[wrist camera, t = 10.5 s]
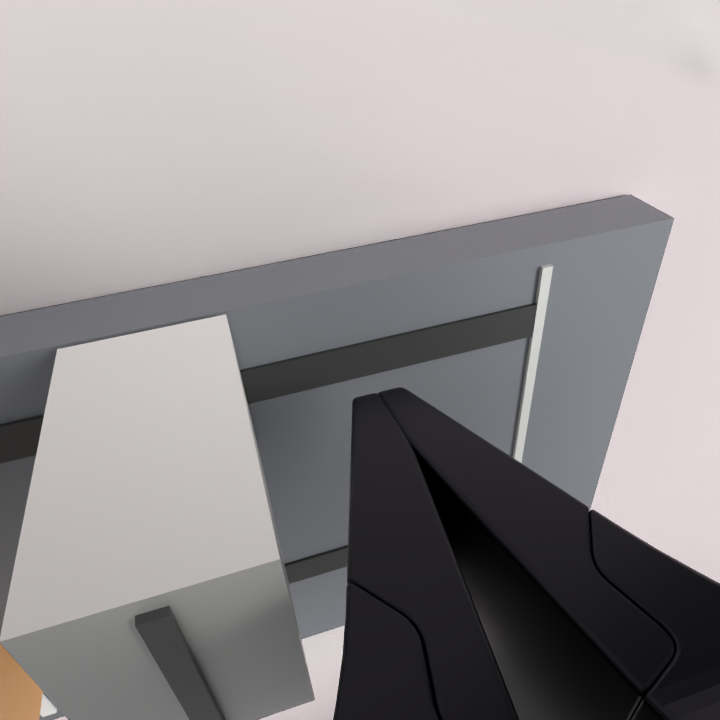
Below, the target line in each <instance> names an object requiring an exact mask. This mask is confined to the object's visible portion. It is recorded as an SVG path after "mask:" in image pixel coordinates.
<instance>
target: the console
mask: <svg viewBox="0 0 720 720" xmlns="http://www.w3.org/2000/svg"><path fill="white" fill-rule="evenodd" d="M673 220H674V218H673V217H671V216H669V215H667V214H665V213H663V212H662V211H660V210H658V209H656V208H654V207H652V206H651V205H649V204H647V203H645V202H643V201H642V200H640V199H638V198H636V197H634V196H632V195H625V196H620V197H615V198H610V199H605V200H599V201H594V202H589V203H584V204H579V205H574V206H568V207H563V208H558V209H553V210H548V211H543V212H537V213H532V214H527V215H522V216H517V217H512V218H506V219H501V220H496V221H491V222H486V223H481V224H475V225H470V226H465V227H460V228H455V229H450V230H444V231H439V232H434V233H429V234H424V235H419V236H413V237H408V238H403V239H398V240H393V241H388V242H382V243H377V244H372V245H367V246H362V247H357V248H351V249H346V250H341V251H336V252H331V253H326V254H320V255H315V256H310V257H305V258H300V259H295V260H289V261H284V262H279V263H274V264H269V265H264V266H258V267H253V268H248V269H243V270H238V271H233V272H227V273H222V274H217V275H212V276H207V277H202V278H196V279H191V280H186V281H181V282H176V283H171V284H165V285H160V286H155V287H150V288H145V289H140V290H134V291H129V292H124V293H119V294H114V295H109V296H103V297H98V298H93V299H88V300H83V301H78V302H72V303H67V304H62V305H57V306H52V307H47V308H41V309H36V310H31V311H26V312H21V313H16V314H10V315H5V316H0V635H1V630H2V624H3V619H4V614H5V609H6V604H7V599H8V594H9V589H10V584H11V579H12V574H13V569H14V564H15V559H16V554H17V549H18V544H19V539H20V534H21V529H22V524H23V519H24V514H25V509H26V504H27V499H28V494H29V489H30V484H31V479H32V474H33V469H34V463H35V458H36V453H37V448H38V443H39V438H40V433H41V428H42V423H43V418H44V413H45V408H46V403H47V398H48V393H49V388H50V383H51V378H52V373H53V368H54V363H55V358H56V353H57V349H61V348H66V347H70V346H75V345H80V344H85V343H90V342H95V341H99V340H104V339H109V338H114V337H119V336H123V335H128V334H133V333H138V332H143V331H148V330H152V329H157V328H162V327H167V326H172V325H177V324H181V323H186V322H191V321H196V320H201V319H205V318H210V317H215V316H220V315H225V314H226V316H227V320H228V324H229V328H230V332H231V337H232V341H233V345H234V349H235V353H236V357H237V362H238V366H239V370H240V374H241V378H242V382H243V387H244V391H245V395H246V399H247V403H248V408H249V412H250V416H251V420H252V424H253V428H254V433H255V437H256V441H257V445H258V449H259V453H260V458H261V462H262V467H263V471H264V476H265V480H266V485H267V489H268V493H269V498H270V502H271V507H272V511H273V516H274V520H275V525H276V529H277V534H278V538H279V542H280V547H281V551H282V556H283V560H284V565H285V569H286V574H287V578H288V582H289V587H290V591H291V596H292V600H293V605H294V609H295V614H296V618H297V623H298V627H299V631H300V636H301V639H303V638H307V637H310V636H313V635H316V634H319V633H322V632H325V631H328V630H331V629H334V628H337V627H340V626H344V625H345V616H346V587H347V561H348V528H349V494H350V461H351V427H352V401H353V399H354V398H356V397H360V396H364V395H368V394H372V393H377V394H378V393H379V392H381V391H385V390H389V389H393V388H397V387H402V388H405V389H407V390H408V391H410V392H411V393H413V394H415V395H416V396H418V397H419V398H421V399H422V400H424V401H425V402H427V403H429V404H430V405H432V406H433V407H435V408H436V409H438V410H439V411H441V412H443V413H444V414H446V415H447V416H449V417H450V418H452V419H453V420H455V421H457V422H458V423H460V424H461V425H463V426H464V427H466V428H467V429H469V430H470V431H472V432H474V433H475V434H477V435H478V436H480V437H481V438H483V439H484V440H486V441H488V442H489V443H491V444H492V445H494V446H495V447H497V448H498V449H500V450H502V451H503V452H505V453H506V454H508V455H509V456H511V457H512V458H514V459H516V460H517V461H519V462H520V463H522V464H523V465H525V466H526V467H528V468H530V469H531V470H533V471H534V472H536V473H537V474H539V475H540V476H542V477H544V478H545V479H547V480H548V481H550V482H551V483H553V484H554V485H556V486H557V487H559V488H561V489H562V490H564V491H565V492H567V493H568V494H570V495H571V496H573V497H575V498H576V499H578V500H579V501H581V502H582V503H584V504H585V505H587V506H588V507H589V511H590V508H591V504H592V501H593V497H594V494H595V490H596V487H597V484H598V480H599V477H600V473H601V470H602V466H603V463H604V459H605V456H606V452H607V449H608V445H609V442H610V439H611V435H612V432H613V428H614V425H615V421H616V418H617V414H618V411H619V407H620V404H621V400H622V397H623V394H624V390H625V387H626V383H627V380H628V376H629V373H630V369H631V366H632V362H633V359H634V355H635V352H636V349H637V345H638V342H639V338H640V335H641V331H642V328H643V324H644V321H645V317H646V314H647V310H648V307H649V304H650V300H651V297H652V293H653V290H654V286H655V283H656V279H657V276H658V272H659V269H660V265H661V262H662V258H663V255H664V252H665V248H666V245H667V241H668V238H669V234H670V231H671V227H672V224H673ZM0 644H1V643H0ZM7 652H8V651H7ZM8 653H9V652H8ZM15 661H16V660H15ZM16 662H17V661H16ZM17 663H18V662H17ZM23 670H24V669H23ZM24 671H25V670H24ZM25 672H26V671H25ZM32 680H33V679H32ZM33 681H34V680H33ZM40 689H41V688H40ZM41 690H42V689H41ZM42 691H43V690H42ZM63 716H65V715H64V714H63V713H62V712H61V711H60V710H59V708H58V707H57V706H56V705H55V704H54V703H53V702H52V701H51V699H50V698H49V697H48V696H47V695H46V694H45V693H44V692H43V694H42V702H41V710H40V717H39V720H54V719H57V718H60V717H63Z"/></svg>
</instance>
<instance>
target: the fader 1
mask: <svg viewBox="0 0 720 720" xmlns="http://www.w3.org/2000/svg"><path fill="white" fill-rule="evenodd" d="M42 694H43V691H42V690H41V689H40V687H39V686H38V685H37V684H36V683H35V682H34V681H33V680H32V678H31V677H30V676H29V675H28V674H27V673H26V672H25V671H24V670H23V668H22V667H21V666H20V665H19V664H18V663H17V662H16V661H15V659H14V658H13V657H12V656H11V655H10V654H9V653H8V652H7V650H6V649H5V648H4V647H3V646H2V645H1V644H0V720H39V717H40V710H41V702H42Z"/></svg>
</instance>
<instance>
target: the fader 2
mask: <svg viewBox="0 0 720 720" xmlns="http://www.w3.org/2000/svg"><path fill="white" fill-rule="evenodd" d="M0 643H1V645H2V646H3V647H4V648H5V649H6V650H7V651H8V652H9V654H10V655H11V656H12V657H13V658H14V659H15V660H16V661H17V662H18V664H19V665H20V666H21V667H22V668H23V669H24V670H25V671H26V673H27V674H28V675H29V676H30V677H31V678H32V679H33V680H34V682H35V683H36V684H37V685H38V686H39V687H40V688H41V689H42V690H43V692H44V693H45V694H46V695H47V696H48V697H49V698H50V699H51V701H52V702H53V703H54V704H55V705H56V706H57V707H58V708H59V710H60V711H61V712H62V713H63V714H64V715H65V716H66V717H67V718H68V720H258V719H261V718H264V717H267V716H270V715H273V714H275V713H278V712H281V711H284V710H287V709H290V708H293V707H296V706H299V705H301V704H304V703H307V702H310V701H313V700H315V698H314V694H313V689H312V685H311V680H310V676H309V671H308V667H307V663H306V658H305V654H304V649H303V645H302V640H301V636H300V631H299V627H298V623H297V618H296V614H295V609H294V605H293V600H292V596H291V591H290V587H289V582H288V578H287V574H286V569H285V565H284V560H283V556H282V551H281V547H280V542H279V538H278V534H277V529H276V525H275V520H274V516H273V511H272V507H271V502H270V498H269V493H268V489H267V485H266V480H265V476H264V471H263V467H262V462H261V458H260V453H259V449H258V445H257V441H256V437H255V433H254V428H253V424H252V420H251V416H250V412H249V408H248V403H247V399H246V395H245V391H244V387H243V382H242V378H241V374H240V370H239V366H238V362H237V357H236V353H235V349H234V345H233V341H232V337H231V332H230V328H229V324H228V320H227V316H226V314H225V315H220V316H215V317H210V318H205V319H201V320H196V321H191V322H186V323H181V324H177V325H172V326H167V327H162V328H157V329H152V330H148V331H143V332H138V333H133V334H128V335H123V336H119V337H114V338H109V339H104V340H99V341H95V342H90V343H85V344H80V345H75V346H70V347H66V348H61V349H57V353H56V358H55V363H54V368H53V373H52V378H51V383H50V388H49V393H48V398H47V403H46V408H45V413H44V418H43V423H42V428H41V433H40V438H39V443H38V448H37V453H36V458H35V463H34V469H33V474H32V479H31V484H30V489H29V494H28V499H27V504H26V509H25V514H24V519H23V524H22V529H21V534H20V539H19V544H18V549H17V554H16V559H15V564H14V569H13V574H12V579H11V584H10V589H9V594H8V599H7V604H6V609H5V614H4V619H3V624H2V630H1V635H0Z"/></svg>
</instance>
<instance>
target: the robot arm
mask: <svg viewBox="0 0 720 720" xmlns="http://www.w3.org/2000/svg"><path fill="white" fill-rule="evenodd" d="M333 720H720V583H718V582H716V581H714V580H712V579H710V578H709V577H707V576H705V575H703V574H701V573H699V572H697V571H696V570H694V569H692V568H690V567H688V566H687V565H685V564H683V563H681V562H679V561H678V560H676V559H674V558H672V557H670V556H669V555H667V554H665V553H663V552H661V551H660V550H658V549H656V548H654V547H653V546H651V545H650V544H648V543H646V542H645V541H643V540H641V539H640V538H638V537H636V536H635V535H633V534H632V533H630V532H628V531H627V530H625V529H623V528H622V527H620V526H618V525H617V524H615V523H614V522H612V521H611V520H609V519H608V518H606V517H604V516H603V515H601V514H600V513H598V512H597V511H595V510H590V511H589V507H588V506H587V505H585V504H584V503H582V502H581V501H579V500H578V499H576V498H575V497H573V496H571V495H570V494H568V493H567V492H565V491H564V490H562V489H561V488H559V487H557V486H556V485H554V484H553V483H551V482H550V481H548V480H547V479H545V478H544V477H542V476H540V475H539V474H537V473H536V472H534V471H533V470H531V469H530V468H528V467H526V466H525V465H523V464H522V463H520V462H519V461H517V460H516V459H514V458H512V457H511V456H509V455H508V454H506V453H505V452H503V451H502V450H500V449H498V448H497V447H495V446H494V445H492V444H491V443H489V442H488V441H486V440H484V439H483V438H481V437H480V436H478V435H477V434H475V433H474V432H472V431H470V430H469V429H467V428H466V427H464V426H463V425H461V424H460V423H458V422H457V421H455V420H453V419H452V418H450V417H449V416H447V415H446V414H444V413H443V412H441V411H439V410H438V409H436V408H435V407H433V406H432V405H430V404H429V403H427V402H425V401H424V400H422V399H421V398H419V397H418V396H416V395H415V394H413V393H411V392H410V391H408V390H407V389H405V388H402V387H397V388H393V389H389V390H385V391H381V392H379V393H378V394H377V393H372V394H368V395H364V396H360V397H356V398H354V399H353V401H352V427H351V461H350V494H349V528H348V561H347V587H346V616H345V630H344V645H343V657H342V664H341V671H340V679H339V686H338V693H337V700H336V706H335V712H334V718H333Z"/></svg>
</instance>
